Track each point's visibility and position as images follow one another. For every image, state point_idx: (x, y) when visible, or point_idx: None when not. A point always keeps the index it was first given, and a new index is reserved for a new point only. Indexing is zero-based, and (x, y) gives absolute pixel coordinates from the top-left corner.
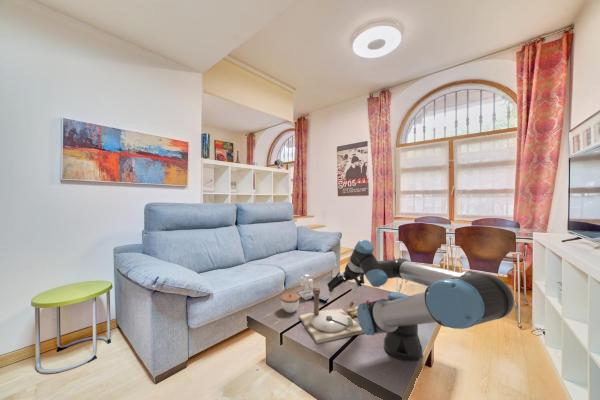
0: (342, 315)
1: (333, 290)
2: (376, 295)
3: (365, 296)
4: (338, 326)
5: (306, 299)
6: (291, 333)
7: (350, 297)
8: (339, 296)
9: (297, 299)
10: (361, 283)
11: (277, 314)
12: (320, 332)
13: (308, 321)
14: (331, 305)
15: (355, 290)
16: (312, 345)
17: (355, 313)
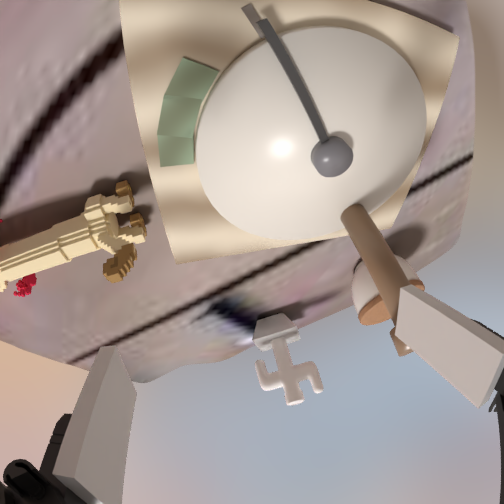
0: (215, 176)
1: (493, 336)
2: (7, 323)
3: (42, 323)
4: (329, 54)
5: (281, 314)
6: (464, 138)
7: (99, 323)
8: (142, 329)
9: None
10: (18, 488)
11: (416, 245)
12: (418, 75)
13: None
14: (201, 286)
15: (93, 382)
16: (463, 36)
17: (103, 204)
